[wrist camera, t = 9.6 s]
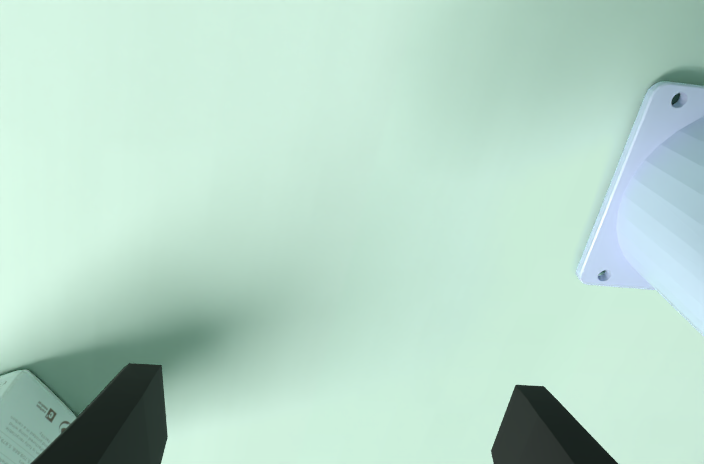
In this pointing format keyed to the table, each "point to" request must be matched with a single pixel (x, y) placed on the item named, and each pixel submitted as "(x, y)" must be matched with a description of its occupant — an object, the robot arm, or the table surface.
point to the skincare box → (28, 417)
